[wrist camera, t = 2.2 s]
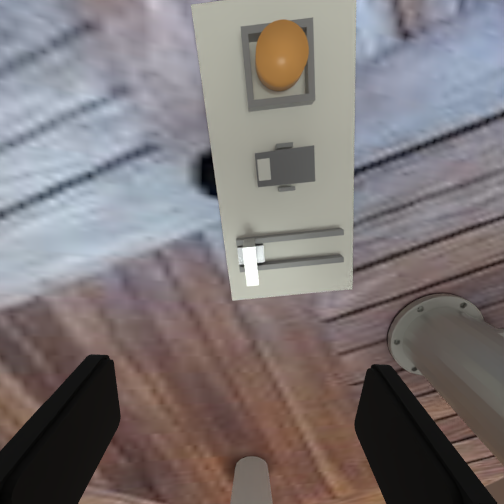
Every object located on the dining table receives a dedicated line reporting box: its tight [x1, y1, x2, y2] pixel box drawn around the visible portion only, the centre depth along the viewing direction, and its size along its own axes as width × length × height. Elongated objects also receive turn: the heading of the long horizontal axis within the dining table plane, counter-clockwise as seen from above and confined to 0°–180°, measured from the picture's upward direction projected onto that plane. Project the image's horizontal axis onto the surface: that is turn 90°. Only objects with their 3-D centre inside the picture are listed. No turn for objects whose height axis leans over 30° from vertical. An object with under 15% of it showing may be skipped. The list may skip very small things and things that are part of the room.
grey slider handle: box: [237, 238, 265, 286], centre depth 26 cm, size 3×4×5 cm
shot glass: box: [230, 456, 273, 504], centre depth 38 cm, size 7×7×7 cm
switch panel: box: [191, 0, 356, 300], centre depth 26 cm, size 15×30×4 cm, turn 6°
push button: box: [255, 19, 309, 91], centre depth 21 cm, size 4×4×2 cm
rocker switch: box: [255, 145, 315, 187], centre depth 24 cm, size 6×3×2 cm, turn 96°
